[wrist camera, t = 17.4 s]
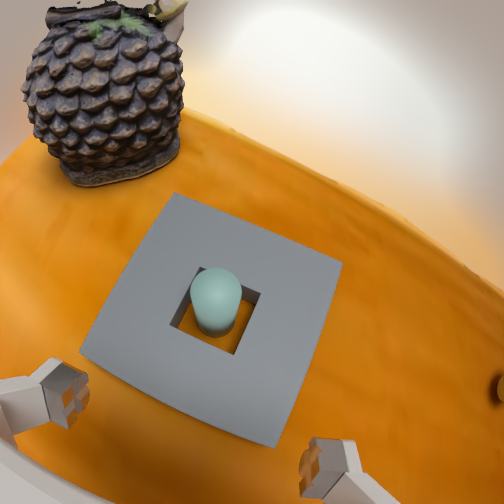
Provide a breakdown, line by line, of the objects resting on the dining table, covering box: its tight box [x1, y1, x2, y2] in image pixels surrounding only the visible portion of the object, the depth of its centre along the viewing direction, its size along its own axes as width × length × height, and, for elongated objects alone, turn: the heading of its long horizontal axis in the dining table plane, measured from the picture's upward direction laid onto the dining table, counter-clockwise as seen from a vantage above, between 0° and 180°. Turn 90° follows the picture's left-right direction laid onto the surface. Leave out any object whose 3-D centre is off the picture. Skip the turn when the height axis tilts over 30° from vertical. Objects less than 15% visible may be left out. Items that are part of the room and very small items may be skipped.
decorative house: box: [21, 0, 188, 186], centre depth 29 cm, size 21×15×25 cm
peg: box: [190, 268, 242, 338], centre depth 28 cm, size 4×4×9 cm
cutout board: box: [79, 192, 343, 449], centre depth 30 cm, size 20×20×4 cm
